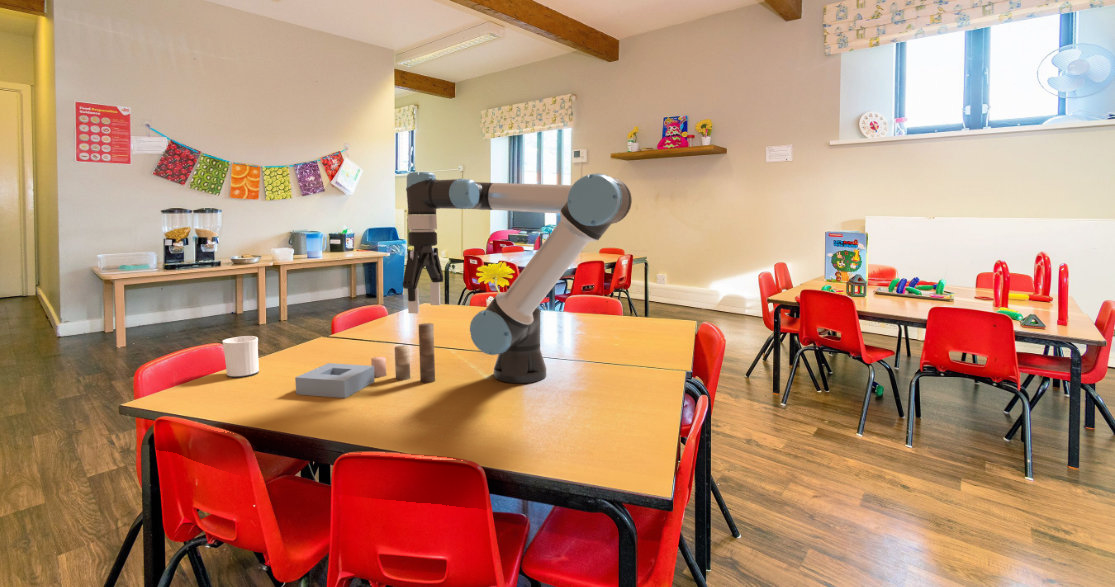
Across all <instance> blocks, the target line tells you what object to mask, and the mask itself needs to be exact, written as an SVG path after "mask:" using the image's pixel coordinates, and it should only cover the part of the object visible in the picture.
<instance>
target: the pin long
mask: <svg viewBox="0 0 1115 587" xmlns="http://www.w3.org/2000/svg"><path fill="white" fill-rule="evenodd" d="M434 329H435V328H434V323H431V322H429V323H428V322H427V323H425V322H424V323H419V324H418V344H419V345H418V346H419V348H418V349H419V378H420V383H423V384H430V383H433V382H436V366H435V361H436V360H435V333H434V332H435V331H434Z"/></svg>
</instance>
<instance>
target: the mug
mask: <svg viewBox="0 0 1115 587" xmlns="http://www.w3.org/2000/svg"><path fill="white" fill-rule="evenodd" d="M222 346H223V352H224V360H225V369H226V376H227V378H229V377H231V378H230V379H243V377H244V378H249V376H250V377H253V376H255V375H258V374H259V372H260V368H259V367H260V365H259V338H258V337H257V336H253V335H244V336H236V337H235V336H234V337H230V338H225V339H223V340H222Z"/></svg>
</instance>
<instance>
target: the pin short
mask: <svg viewBox="0 0 1115 587" xmlns="http://www.w3.org/2000/svg"><path fill="white" fill-rule="evenodd" d="M370 361H371V365H370V366H374V378H384V377H385V376H387V358H386V357H385V356H375V357H372V358H371V359H370Z"/></svg>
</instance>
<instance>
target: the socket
mask: <svg viewBox="0 0 1115 587" xmlns="http://www.w3.org/2000/svg"><path fill="white" fill-rule="evenodd" d="M294 378H295V392H296V395H300V396H301V395H302V396H315V397H328V398H340V399H346V398H348V397H350V396H353V395H354V394H355V393H357V392H358V391H360V390H363V389H364V388H366V387H368V386H370V385H372V384H373V383H375V377H374V366H371V365H364V364H348V363H346V364H345V363H333V362H331V363H330V362H328V363H325V364H323V365H322V366H319V367H317V368H313V369H311V370H309V371H307V372H305V373H303V374H300V375H298V376H295V377H294Z"/></svg>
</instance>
